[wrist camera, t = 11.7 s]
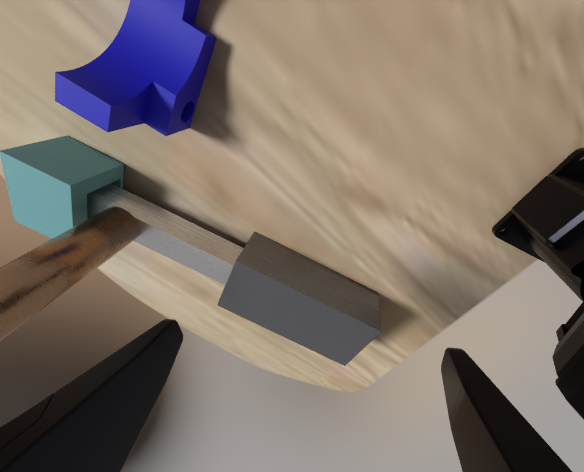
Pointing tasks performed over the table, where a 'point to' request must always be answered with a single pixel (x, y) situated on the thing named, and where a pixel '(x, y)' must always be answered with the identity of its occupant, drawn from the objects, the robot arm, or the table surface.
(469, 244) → the table surface
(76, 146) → the teal block with slot
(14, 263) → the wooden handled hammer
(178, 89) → the cable clip
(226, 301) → the gray rectangular tube
